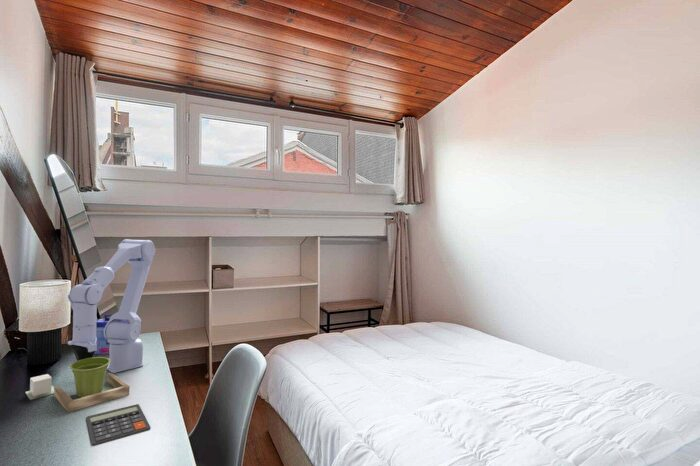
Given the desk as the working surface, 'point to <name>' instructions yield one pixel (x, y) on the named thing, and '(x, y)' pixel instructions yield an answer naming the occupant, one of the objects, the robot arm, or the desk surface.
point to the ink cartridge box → (102, 336)
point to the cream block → (40, 384)
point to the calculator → (116, 424)
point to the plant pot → (89, 375)
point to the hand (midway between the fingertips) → (84, 369)
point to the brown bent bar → (83, 402)
